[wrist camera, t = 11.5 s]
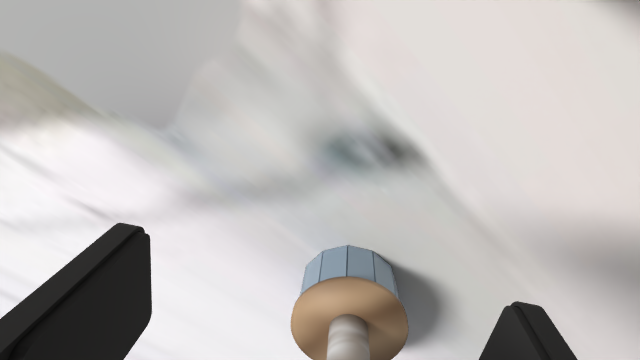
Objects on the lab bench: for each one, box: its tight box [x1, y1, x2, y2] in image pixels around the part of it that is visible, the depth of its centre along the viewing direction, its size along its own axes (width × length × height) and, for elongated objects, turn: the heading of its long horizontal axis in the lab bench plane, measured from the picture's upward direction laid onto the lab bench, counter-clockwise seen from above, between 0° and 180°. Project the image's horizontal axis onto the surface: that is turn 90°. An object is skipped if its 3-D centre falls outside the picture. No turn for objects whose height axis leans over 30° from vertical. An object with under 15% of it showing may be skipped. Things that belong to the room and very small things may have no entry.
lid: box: [291, 276, 408, 360], centre depth 35 cm, size 12×12×5 cm
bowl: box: [300, 245, 399, 299], centre depth 40 cm, size 11×11×6 cm
